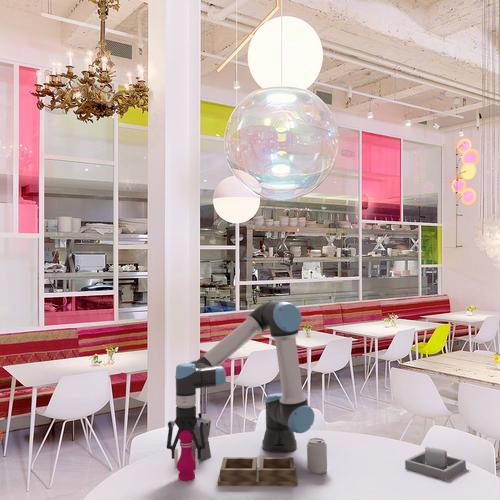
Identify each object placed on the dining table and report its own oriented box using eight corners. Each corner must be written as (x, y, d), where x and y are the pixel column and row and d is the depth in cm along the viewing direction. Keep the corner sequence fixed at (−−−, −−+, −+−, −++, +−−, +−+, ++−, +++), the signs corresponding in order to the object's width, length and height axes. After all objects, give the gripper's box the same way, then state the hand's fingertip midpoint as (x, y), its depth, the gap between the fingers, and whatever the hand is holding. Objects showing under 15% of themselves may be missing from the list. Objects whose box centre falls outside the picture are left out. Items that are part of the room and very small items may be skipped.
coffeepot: (218, 458, 217) (217, 414, 218) (198, 463, 212) (197, 418, 213) (199, 448, 230) (199, 407, 231) (180, 453, 225) (180, 410, 225)
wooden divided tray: (296, 471, 202) (295, 456, 203) (297, 486, 188) (297, 470, 189) (221, 471, 204) (221, 456, 204) (217, 486, 190) (217, 470, 190)
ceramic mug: (447, 472, 199) (447, 451, 200) (425, 470, 202) (424, 449, 202) (445, 463, 210) (445, 443, 210) (424, 461, 212) (423, 441, 212)
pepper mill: (193, 482, 193) (192, 427, 194) (174, 481, 194) (173, 426, 195) (198, 475, 200) (198, 422, 201) (180, 474, 201) (180, 421, 202)
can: (323, 476, 197) (323, 444, 198) (304, 473, 200) (304, 441, 201) (329, 469, 204) (328, 438, 204) (311, 466, 207) (310, 435, 207)
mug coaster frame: (426, 457, 215) (426, 450, 215) (465, 468, 203) (465, 460, 203) (405, 468, 204) (405, 460, 204) (445, 480, 192) (445, 471, 192)
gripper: (157, 408, 195) (157, 471, 194) (211, 408, 194) (212, 471, 193) (161, 403, 202) (162, 463, 201) (213, 403, 201) (214, 463, 201)
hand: (186, 467), depth 197 cm, fingers closed on pepper mill, 7 cm apart
